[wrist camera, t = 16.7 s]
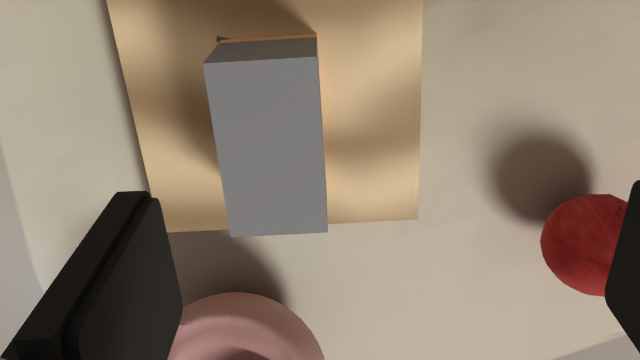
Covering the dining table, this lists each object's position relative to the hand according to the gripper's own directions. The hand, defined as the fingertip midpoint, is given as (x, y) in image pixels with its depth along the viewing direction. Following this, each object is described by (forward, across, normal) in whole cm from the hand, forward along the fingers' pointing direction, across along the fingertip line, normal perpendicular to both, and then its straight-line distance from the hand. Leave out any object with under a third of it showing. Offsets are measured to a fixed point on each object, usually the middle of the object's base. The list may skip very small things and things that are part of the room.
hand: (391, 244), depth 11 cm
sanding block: (+19, +4, +5) cm, 20 cm away
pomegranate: (+20, -14, +12) cm, 28 cm away
